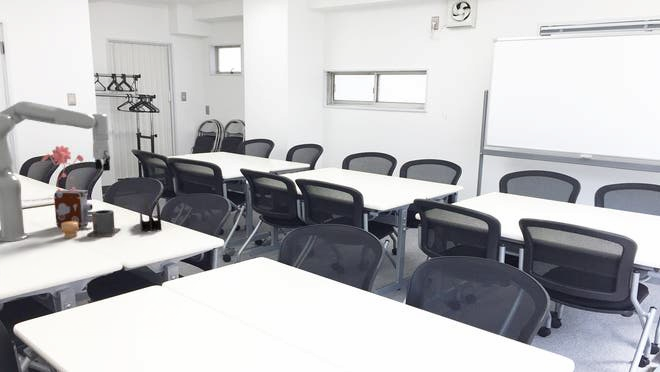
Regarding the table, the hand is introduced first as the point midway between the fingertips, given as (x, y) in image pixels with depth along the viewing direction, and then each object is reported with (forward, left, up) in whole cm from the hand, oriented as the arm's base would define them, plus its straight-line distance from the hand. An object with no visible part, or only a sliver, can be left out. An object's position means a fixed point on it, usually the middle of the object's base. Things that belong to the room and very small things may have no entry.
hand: (102, 169), depth 270 cm
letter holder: (+25, -5, -31) cm, 40 cm away
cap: (-8, -24, -30) cm, 40 cm away
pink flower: (-60, +81, -31) cm, 105 cm away
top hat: (+6, -18, -30) cm, 36 cm away
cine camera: (-13, -5, -31) cm, 34 cm away
